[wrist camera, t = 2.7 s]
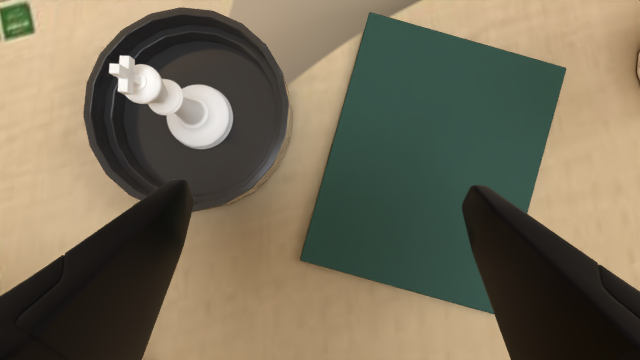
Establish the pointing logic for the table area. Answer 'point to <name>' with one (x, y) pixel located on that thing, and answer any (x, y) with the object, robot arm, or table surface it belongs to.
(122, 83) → the chess piece
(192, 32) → the dish
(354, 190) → the desk mat
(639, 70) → the white cup
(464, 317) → the table surface
